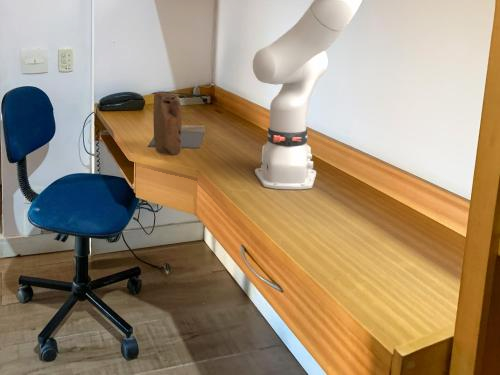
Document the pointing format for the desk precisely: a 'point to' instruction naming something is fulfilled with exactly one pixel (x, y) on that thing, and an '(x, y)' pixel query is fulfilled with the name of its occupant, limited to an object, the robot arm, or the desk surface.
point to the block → (167, 123)
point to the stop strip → (193, 128)
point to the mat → (187, 139)
